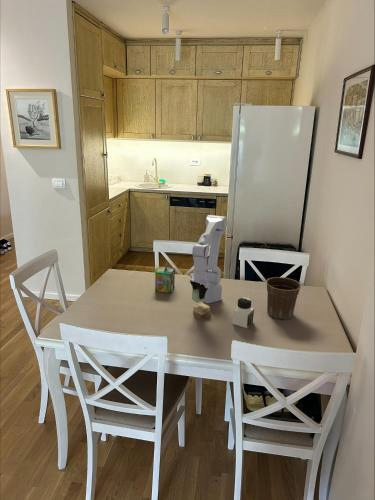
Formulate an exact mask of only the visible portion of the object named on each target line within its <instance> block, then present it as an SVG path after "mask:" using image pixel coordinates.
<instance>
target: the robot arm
mask: <svg viewBox="0 0 375 500" xmlns="http://www.w3.org/2000/svg"><path fill="white" fill-rule="evenodd" d="M227 225H228V218H227V216H222V215H213V214H212V215H211V214H208V215H206V218H205V226H206V229H205V232H203V233H202V234H201V235H200V237H199V239H198V242H197V243H196V244H194V245H193V247H192V251H191V252H192V253H191V254H192V260H193V272H191V273H189V278H190V280H189V283H190V284H191V288H192V290H196V289H198V290H199V298H200V299H204V297H205V301H203V302H205V303H206V305H208V304H212V303H216V302H219V301H222V300H223V299H222V293H223V287H222V284H221V281H222V280H221V279H222V270H221V268H220V267H218V259H219V252H220V246H221V242H222V241H221V239H222V236H223V234H226V231H227Z"/></svg>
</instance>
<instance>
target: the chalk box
mask: <svg viewBox="0 0 375 500" xmlns="http://www.w3.org/2000/svg"><path fill="white" fill-rule="evenodd" d="M168 265H169V263H167V264H166V265H165V266H159V267H158V268H157V269H156V271H155V274H154V275H155V276H154V282H155V283H154V284H155V285H154V292H155V291H157V292H158V293H164V292H165V294H172V292H173V290H174V289H175V280H176V278H175V277H176V268H174V267H168ZM157 292H156V293H157Z"/></svg>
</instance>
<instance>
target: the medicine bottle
mask: <svg viewBox="0 0 375 500" xmlns="http://www.w3.org/2000/svg"><path fill="white" fill-rule="evenodd" d="M254 312H255V308H253V307H252V300H251V299H250V298H247V297H240V298H238V299H237V307H236V308H235V309H234V310H233V314H232V315H233V316H232V324H233V326H234V325H235V326H238V327H241V328H245V329H248V328H249V327H250V326H251V325H252V324H253V322H254V314H255V313H254Z"/></svg>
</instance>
